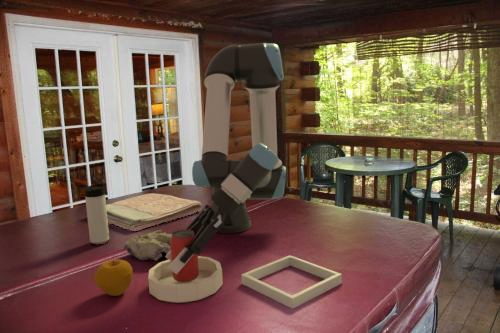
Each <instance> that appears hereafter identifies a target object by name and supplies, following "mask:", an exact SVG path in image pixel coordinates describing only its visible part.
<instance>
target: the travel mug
mask: <svg viewBox="0 0 500 333" xmlns="http://www.w3.org/2000/svg"><path fill="white" fill-rule="evenodd" d="M84 197H85V206H86V215H87V225H88V235H89V236H88V237H89V243H90V242H91V243H103V242H106V241H108V240H109V239H110V233H109V224H108V219H107V209H106V205H107V202H106V193H105V185H104V183H97V184H96V183H95V184H92V185H89V186H87V187H85V188H84Z"/></svg>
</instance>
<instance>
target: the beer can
mask: <svg viewBox="0 0 500 333" xmlns="http://www.w3.org/2000/svg"><path fill="white" fill-rule="evenodd" d="M171 234H172V237H171V241H170V245H171V258H172V262H173V260H174V259H175V258H176V257H177V256H178V255H179V253H180V252H181V251H182V250H183V249H184V248H185V245H189V244H190V242H191V241H192V239H193V238H194V237H195V235H194V231H192V230H188V229H186V228H185V229H178V230H175V231H173V232H172V233H171ZM198 256H199V255H197V254H194V255H193V256H192V257H191V258H190V259H189V261H188V262H187V263H186V264H185V265H184V266H183V268H182V269H181V270H180V271H179V272H178V273H177V274H175V273H174V272H173V278H174V279H175V280H176V281H178V282H190V281H193V280H195V279H196V278H197V277H198V275H199V268H198Z"/></svg>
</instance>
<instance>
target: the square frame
mask: <svg viewBox="0 0 500 333" xmlns="http://www.w3.org/2000/svg"><path fill="white" fill-rule="evenodd" d="M290 266H291V267H294V268H296V269H298V270H301V271H304V272H306V273H308V274H312V275H314V276H316V277H319V278H321V279H323V280H321V281H319V282H317V283H314V284H313V285H310V286H309V287H307V288H305V289H302V290H301V291H299V292H297V293H295V294H290V293H288V292H286V291H283V290H282V289H279V288H277V287H275V286H273V285H270V284H268V283H266V282H264V281H262V280H259V279H261V278H262V279H263V278H265V277H267V276H268V275H271V274H273V273H276V272H278V271H280V270H283V269H286V268H287V267H290ZM240 277H241V285H244V286H246V287H248V288H250V289H252V290H254V291H255V292H258V293H259V294H262V295H264V296H266V297H268V298H270V299H272V300H274V301H276V302H278V303H280V304H282V305H285V306H286V307H288V308H290V309H292V310H293V309H295V308H297V307H299V306H301V305H303V304H305V303H306V302H309V301H310V300H313V299H315V298H316V297H318V296H320V295H322V294H324V293H326V292H328V291H329V290H332V289H334V288H335V287H337V286H340V285H341V284H343V274H342V273H340V272H337V271H334V270H331V269H329V268H326V267H324V266H321V265H319V264H315V263H313V262H310V261H307V260H305V259H301V258H298V257H296V256H294V255H290V254H289V255H287V256H284V257H281V258H279V259H277V260H274V261H272V262H269V263H267V264H263V265H262V266H259V267H257V268H253V269H252V270H249V271H247V272H244V273H242V274H241V276H240Z"/></svg>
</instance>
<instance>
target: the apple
mask: <svg viewBox="0 0 500 333" xmlns="http://www.w3.org/2000/svg"><path fill="white" fill-rule="evenodd" d="M93 280H94V283H95V285H96V286H97V287H98V288H99V289H101V291H103V292H104V293H105V294H107V295H109V296H111V297H118V296H121V295H123V294H124V293H125V292H126V291H127V289H128V288H129V287H130V284H131V282H132V280H133V267H132V266H131V264H130V263H129V262H128V261H126V260H124V259H111V260H106V261H104V262H103V263H101V264H100V265H99V266H98V268H97V269H96V271H95V273H94V278H93Z"/></svg>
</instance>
